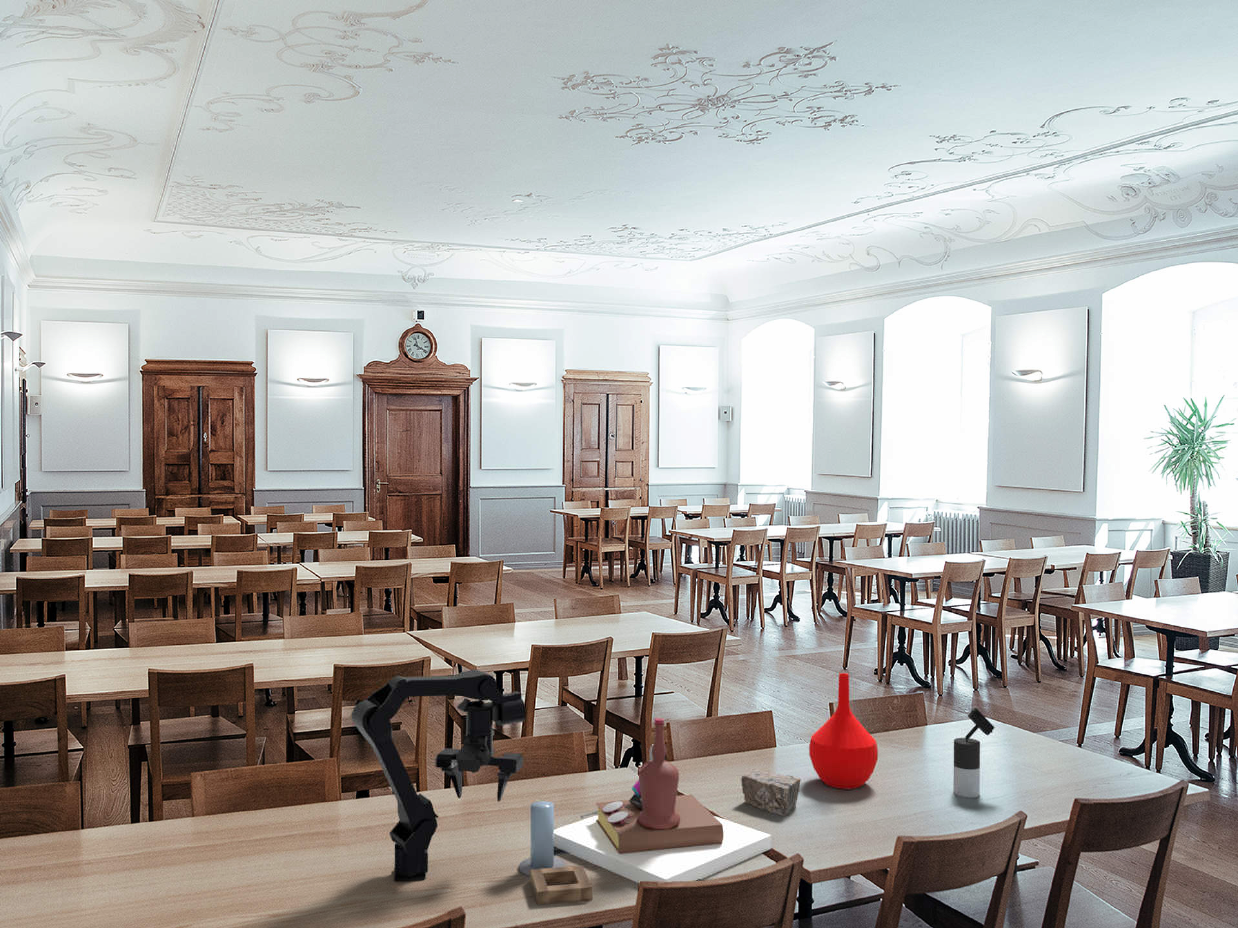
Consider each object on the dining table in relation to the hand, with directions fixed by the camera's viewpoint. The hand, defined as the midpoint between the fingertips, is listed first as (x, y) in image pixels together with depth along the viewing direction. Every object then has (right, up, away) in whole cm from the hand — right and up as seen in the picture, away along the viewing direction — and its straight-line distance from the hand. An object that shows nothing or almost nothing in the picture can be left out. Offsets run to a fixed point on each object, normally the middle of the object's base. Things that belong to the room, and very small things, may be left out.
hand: (479, 799), depth 224 cm
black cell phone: (+16, -14, +10) cm, 23 cm away
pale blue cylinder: (+14, -13, -5) cm, 20 cm away
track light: (+125, -14, +46) cm, 134 cm away
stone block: (+70, -14, +35) cm, 79 cm away
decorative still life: (+39, -14, +9) cm, 42 cm away
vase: (+92, -13, +53) cm, 107 cm away
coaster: (+14, -13, -5) cm, 20 cm away
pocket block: (+19, -13, -16) cm, 28 cm away
